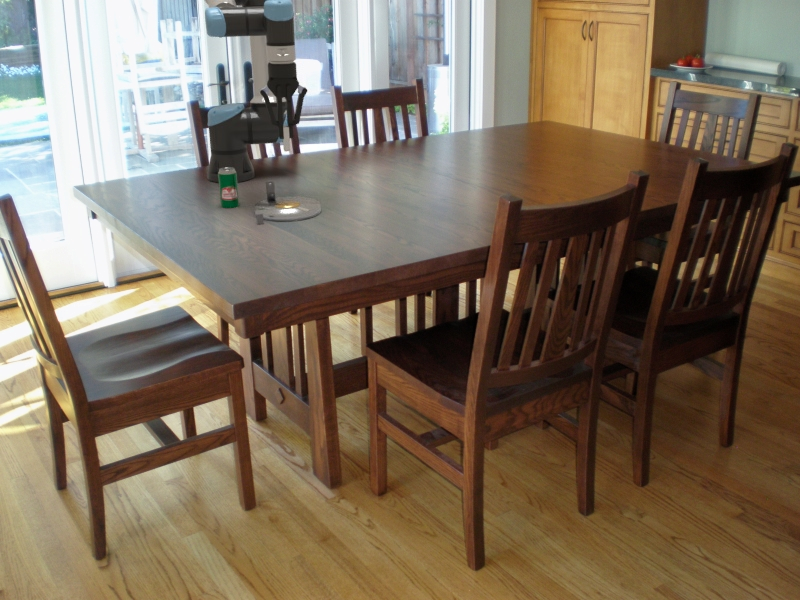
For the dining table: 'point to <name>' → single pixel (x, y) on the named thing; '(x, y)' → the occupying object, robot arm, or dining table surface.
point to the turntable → (286, 207)
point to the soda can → (228, 187)
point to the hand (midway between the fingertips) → (286, 150)
